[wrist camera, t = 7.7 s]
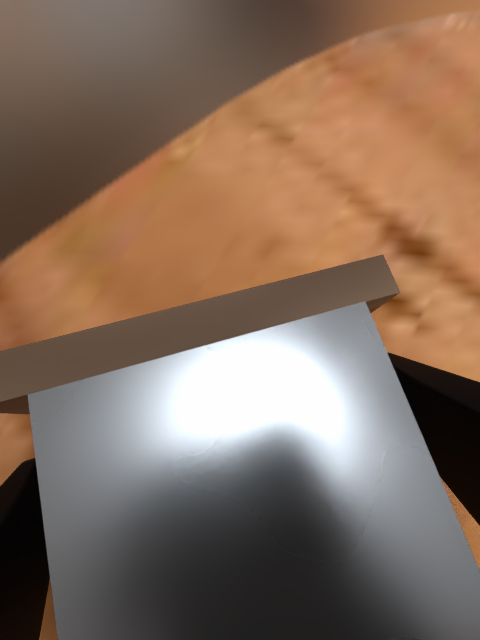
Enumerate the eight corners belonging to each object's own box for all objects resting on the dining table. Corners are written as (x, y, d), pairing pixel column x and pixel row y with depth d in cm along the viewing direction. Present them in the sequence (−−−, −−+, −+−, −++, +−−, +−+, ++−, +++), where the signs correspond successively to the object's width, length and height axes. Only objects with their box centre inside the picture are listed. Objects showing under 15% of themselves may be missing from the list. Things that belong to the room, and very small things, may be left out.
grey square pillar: (284, 477, 16) (530, 691, 3) (193, 509, 15) (92, 916, 3) (256, 387, 17) (364, 301, 5) (171, 412, 16) (27, 395, 4)
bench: (375, 452, 16) (484, 475, 10) (89, 553, 14) (-20, 667, 8) (322, 314, 18) (383, 254, 12) (65, 385, 16) (-40, 361, 10)
